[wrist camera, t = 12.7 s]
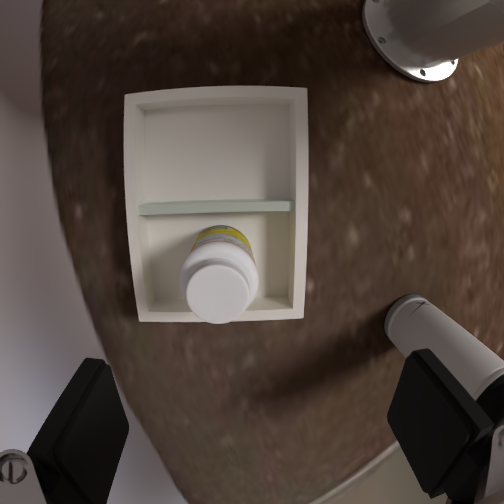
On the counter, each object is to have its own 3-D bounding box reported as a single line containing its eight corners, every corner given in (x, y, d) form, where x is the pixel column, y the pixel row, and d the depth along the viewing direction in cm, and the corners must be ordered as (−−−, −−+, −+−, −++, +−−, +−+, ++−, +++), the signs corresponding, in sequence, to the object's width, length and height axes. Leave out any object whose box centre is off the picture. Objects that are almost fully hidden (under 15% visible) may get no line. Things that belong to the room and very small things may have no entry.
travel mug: (403, 282, 31) (530, 383, 12) (435, 306, 33) (545, 398, 13) (371, 328, 33) (469, 454, 13) (405, 347, 34) (496, 456, 14)
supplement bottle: (224, 293, 30) (221, 350, 20) (179, 255, 28) (154, 298, 19) (264, 251, 29) (281, 292, 19) (219, 210, 28) (212, 232, 18)
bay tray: (136, 102, 25) (124, 94, 22) (298, 97, 26) (307, 88, 22) (148, 305, 30) (139, 321, 27) (295, 302, 31) (303, 318, 28)
